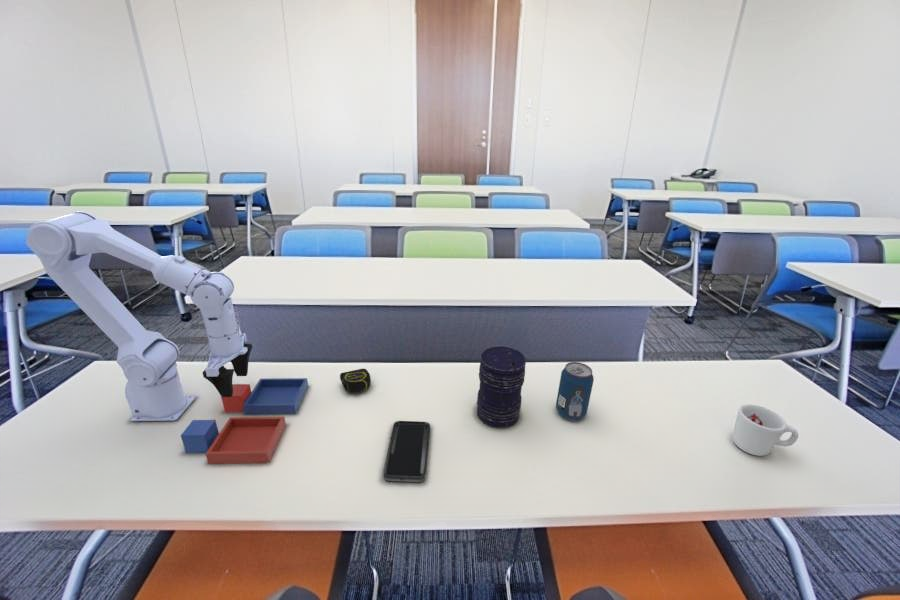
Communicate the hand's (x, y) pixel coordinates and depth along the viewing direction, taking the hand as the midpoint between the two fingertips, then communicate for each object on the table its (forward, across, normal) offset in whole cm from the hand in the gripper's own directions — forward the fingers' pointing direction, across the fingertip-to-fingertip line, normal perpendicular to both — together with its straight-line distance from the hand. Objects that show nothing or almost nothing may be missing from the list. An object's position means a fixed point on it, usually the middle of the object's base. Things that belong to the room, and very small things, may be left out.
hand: (235, 385), depth 88 cm
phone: (+6, -15, -39) cm, 42 cm away
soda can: (+6, -4, -76) cm, 76 cm away
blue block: (+6, -12, +2) cm, 13 cm away
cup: (+6, -16, -112) cm, 113 cm away
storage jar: (+6, -4, -59) cm, 59 cm away
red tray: (+6, -12, -7) cm, 15 cm away
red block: (+6, 0, 0) cm, 6 cm away
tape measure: (+6, +7, -25) cm, 27 cm away
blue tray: (+6, +2, -8) cm, 10 cm away
